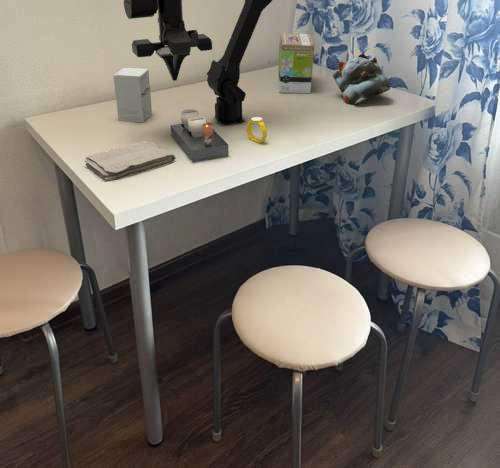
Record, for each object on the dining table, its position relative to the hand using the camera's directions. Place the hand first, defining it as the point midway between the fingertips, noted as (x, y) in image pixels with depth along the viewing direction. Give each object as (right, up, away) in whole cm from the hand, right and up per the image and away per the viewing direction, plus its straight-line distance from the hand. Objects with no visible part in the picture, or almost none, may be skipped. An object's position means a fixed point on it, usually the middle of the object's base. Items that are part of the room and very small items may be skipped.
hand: (174, 80), depth 145 cm
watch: (+21, -15, +1) cm, 26 cm away
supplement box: (-13, -7, +14) cm, 20 cm away
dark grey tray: (+6, -17, -2) cm, 18 cm away
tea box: (+33, +8, +39) cm, 51 cm away
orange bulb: (+9, -18, -9) cm, 22 cm away
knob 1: (+4, -13, +2) cm, 14 cm away
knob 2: (+6, -16, -3) cm, 17 cm away
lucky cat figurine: (+52, +2, +28) cm, 59 cm away
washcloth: (-9, -23, -11) cm, 27 cm away
